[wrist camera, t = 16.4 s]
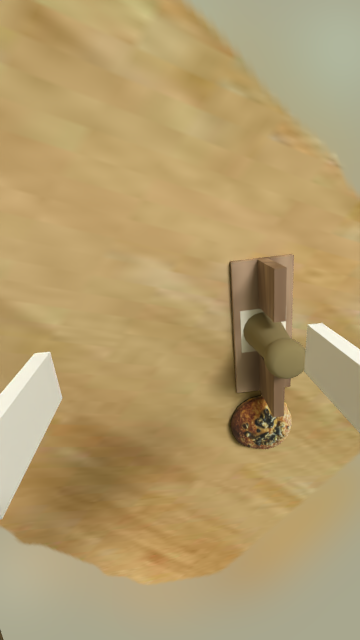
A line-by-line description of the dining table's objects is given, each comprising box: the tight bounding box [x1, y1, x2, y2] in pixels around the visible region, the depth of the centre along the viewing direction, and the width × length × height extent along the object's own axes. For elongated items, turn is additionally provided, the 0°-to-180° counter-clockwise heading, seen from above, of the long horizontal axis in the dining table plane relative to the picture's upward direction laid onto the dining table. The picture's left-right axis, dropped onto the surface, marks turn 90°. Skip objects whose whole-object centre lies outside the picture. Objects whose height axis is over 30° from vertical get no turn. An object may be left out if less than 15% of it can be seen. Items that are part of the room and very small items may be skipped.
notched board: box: [230, 254, 294, 417], centre depth 44 cm, size 9×22×8 cm, turn 6°
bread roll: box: [231, 396, 291, 449], centre depth 52 cm, size 11×11×5 cm
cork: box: [243, 312, 306, 379], centre depth 42 cm, size 6×6×11 cm
